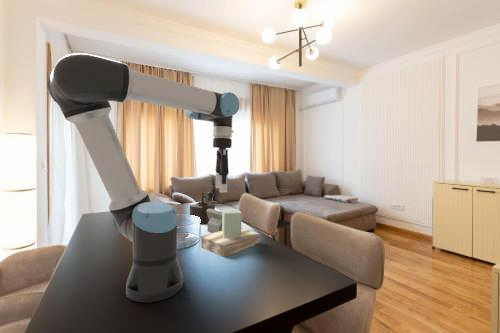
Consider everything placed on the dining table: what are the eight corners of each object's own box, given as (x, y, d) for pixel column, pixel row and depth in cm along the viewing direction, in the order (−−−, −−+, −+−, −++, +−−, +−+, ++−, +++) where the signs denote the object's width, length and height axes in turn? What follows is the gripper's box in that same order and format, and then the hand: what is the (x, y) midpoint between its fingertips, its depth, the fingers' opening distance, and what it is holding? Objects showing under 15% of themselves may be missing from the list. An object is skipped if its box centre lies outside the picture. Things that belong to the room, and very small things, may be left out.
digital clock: (235, 234, 119) (235, 212, 119) (218, 238, 114) (219, 215, 114) (218, 226, 133) (219, 206, 132) (203, 229, 127) (203, 208, 127)
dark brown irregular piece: (188, 222, 139) (188, 190, 138) (200, 218, 149) (201, 188, 148) (210, 226, 132) (211, 192, 131) (222, 221, 142) (222, 190, 141)
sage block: (241, 237, 102) (241, 212, 102) (224, 238, 101) (224, 213, 100) (237, 231, 109) (238, 209, 109) (221, 232, 107) (222, 209, 107)
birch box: (259, 244, 108) (259, 233, 107) (223, 258, 93) (224, 245, 92) (236, 237, 117) (236, 226, 117) (200, 248, 102) (200, 236, 102)
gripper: (237, 136, 90) (235, 194, 91) (226, 140, 114) (225, 186, 115) (216, 134, 88) (215, 194, 89) (210, 139, 113) (209, 186, 113)
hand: (220, 190), depth 102 cm, fingers open, 13 cm apart
